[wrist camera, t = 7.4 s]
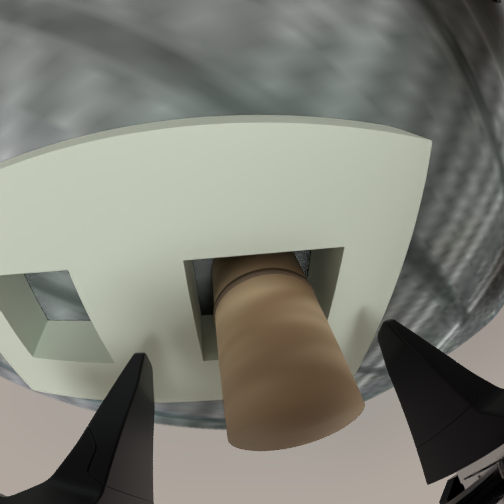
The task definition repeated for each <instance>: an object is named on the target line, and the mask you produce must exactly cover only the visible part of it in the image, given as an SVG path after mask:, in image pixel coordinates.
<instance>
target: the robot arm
mask: <svg viewBox="0 0 504 504" xmlns="http://www.w3.org/2000/svg"><path fill="white" fill-rule="evenodd" d="M493 1H494V2H496V3H501V0H493ZM378 341H379V345H380V348H381V351H382V354H383V357H384V361H385V364H386V367H387V370H388V373H389V376H390V378H391V381H392V383H393V385H394V388H395V390H396V393H397V395H398V398H399V401H400V403H401V406H402V409H403V411H404V414H405V417H406V419H407V422H408V425H409V428H410V431H411V434H412V436H413V440H414V443H415V446H416V448H417V452H418V455H419V458H420V462H421V465H422V468H423V472H424V475H425V478H426V482H427V484H428V485H429V484H431V483H434V482H436V481H438V480H440V479H443V478H445V477H447V476H449V475H451V474H453V473H455V472H457V474H456V475H455V476H453V477H452V478H450V479H449V480H448V481H447V483H446V486H445V489H444V491H443V494H442V496H441V499H440V502H439V503H440V504H504V389H501V388H499V387H497V386H495V385H493V384H491V383H490V382H488V381H486V380H484V379H482V378H481V377H479V376H477V375H476V374H474V373H472V372H471V371H469V370H468V369H466V368H465V367H463V366H462V365H460V364H459V363H457V362H456V361H455V360H453V359H452V358H450V357H449V356H447V355H446V354H444V353H443V352H442V351H440V350H439V349H437V348H436V347H434V346H433V345H431V344H430V343H428V342H427V341H425V340H424V339H422V338H421V337H420V336H418V335H417V334H415V333H414V332H412V331H411V330H409V329H408V328H406V327H405V326H403V325H402V324H400V323H399V322H397V321H396V320H394V319H390V320H386V321H384V322H383V324H382V326H381V328H380V331H379V333H378ZM88 426H89V427H87V428H86V429H85V431H84V433H83V434H82V436H81V437H80V439H79V441H78V442H77V444H76V445H75V447H74V448H73V449H72V451H71V452H70V453H69V455H68V456H67V457H66V459H65V460H64V461H63V462H62V464H61V465H60V466H59V468H58V469H57V470H56V472H55V473H54V474H53V475H52V476H51V477H50V478H49V479H48V480H46V481H45V482H43V483H41V484H39V485H37V486H34V487H32V488H30V489H28V490H25V491H22V492H20V493H17V494H15V495H12V496H8V497H7V496H5V495H3V494H0V504H154V502H153V431H154V388H153V368H152V365H151V363H150V361H149V358H148V356H147V354H146V353H144V352H141V353H134V354H133V356H132V357H131V359H130V360H129V362H128V363H127V365H126V366H125V368H124V369H123V371H122V372H121V374H120V375H119V377H118V378H117V380H116V382H115V383H114V385H113V386H112V388H111V389H110V391H109V392H108V394H107V396H106V397H105V399H104V400H103V402H102V404H101V405H100V407H99V408H98V410H97V412H96V413H95V415H94V417H93V418H92V420H91V421H90V423H89V425H88Z"/></svg>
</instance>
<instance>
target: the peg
mask: <svg viewBox="0 0 504 504" xmlns="http://www.w3.org/2000/svg"><path fill="white" fill-rule="evenodd" d="M212 281H213V296H214V310H213V313H214V323H215V326H216V335H217V346H218V357H219V367H220V377H221V386H222V395H223V404H224V413H225V421H226V428H227V436H228V441H229V443H230V444H231V445H232V446H234V447H237V448H239V449H244V450H252V451H270V450H280V449H286V448H292V447H296V446H300V445H304V444H307V443H311V442H313V441H316V440H319V439H322V438H324V437H326V436H329V435H331V434H333V433H335V432H337V431H339V430H340V429H342V428H344V427H345V426H347V425H348V424H350V423H351V422H352V421H354V420H355V419H356V418H357V417H358V416H359V415H360V414H361V413H362V411H363V410H364V407H365V403H364V401H363V398H362V396H361V394H360V391H359V389H358V387H357V385H356V382H355V380H354V378H353V376H352V373H351V371H350V369H349V367H348V364H347V362H346V360H345V358H344V356H343V353H342V351H341V349H340V347H339V345H338V343H337V340H336V338H335V336H334V334H333V332H332V330H331V328H330V326H329V323H328V321H327V319H326V317H325V315H324V313H323V311H322V309H321V307H320V305H319V303H318V301H317V297H316V294H315V292H314V289H313V287H312V285H311V284H310V283H309V281H308V280H307V278H306V276H305V274H304V272H303V270H302V268H301V266H300V264H299V262H298V260H297V258H296V256H295V255H294V253H293V251H289V252H277V253H266V254H254V255H242V256H230V257H219V258H214V259H213V263H212Z"/></svg>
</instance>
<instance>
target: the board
mask: <svg viewBox="0 0 504 504" xmlns="http://www.w3.org/2000/svg"><path fill="white" fill-rule="evenodd" d="M431 147H432V140H429V139H427V138H424V137H421V136H418V135H415V134H412V133H409V132H406V131H403V130H400V129H397V128H394V127H391V126H387V125H381V124H374V123H368V122H360V121H353V120H344V119H334V118H323V117H309V116H289V115H231V116H211V117H197V118H186V119H176V120H168V121H160V122H153V123H146V124H139V125H133V126H127V127H122V128H117V129H112V130H107V131H102V132H98V133H93V134H89V135H85V136H81V137H77V138H73V139H69V140H66V141H62V142H58V143H55V144H52V145H48V146H45V147H42V148H39V149H36V150H33V151H30V152H27V153H24V154H22V155H19V156H16V157H13V158H11V159H8V160H6V161H3V162H1V163H0V353H1V354H2V355H3V357H4V358H5V359H6V360H7V361H8V363H9V364H10V365H11V366H12V367H13V369H14V370H15V371H16V372H17V373H18V374H19V376H20V377H21V378H22V379H23V380H24V381H25V382H26V383H27V384H28V385H29V386H30V387H31V388H32V390H35V391H40V392H46V393H51V394H57V395H64V396H70V397H78V398H86V399H96V400H104V399H105V397H106V396H107V394H108V392H109V391H110V389H111V388H112V386H113V385H114V383H115V382H116V380H117V378H118V377H119V375H120V374H121V372H122V371H123V369H124V368H125V366H126V365H127V363H128V362H129V360H130V359H131V357H132V356H133V354H134V353H141V352H144V353H146V354H147V356H148V358H149V361H150V363H151V365H152V368H153V388H154V402H196V401H212V400H223V395H222V386H221V377H220V367H219V357H218V346H217V335H216V326H215V323H214V315H204V316H201V310H200V304H199V298H198V292H197V286H196V279H195V273H194V266H193V260H195V259H207V258H219V257H230V256H242V255H254V254H266V253H277V252H289V251H301V250H311V257H310V264H309V271H308V278H307V280H308V281H309V283H310V284H311V285H312V287H313V289H314V292H315V294H316V297H317V301H318V303H319V305H320V307H321V309H322V311H323V313H324V315H325V317H326V319H327V321H328V323H329V326H330V328H331V330H332V332H333V334H334V336H335V338H336V340H337V343H338V345H339V347H340V349H341V351H342V353H343V356H344V358H345V360H346V362H347V364H348V367H349V369H350V371H351V373H352V376H355V374H356V373H357V371H358V369H359V367H360V365H361V363H362V361H363V359H364V357H365V355H366V353H367V351H368V349H369V347H370V345H371V342H372V340H373V338H374V336H375V334H376V332H377V329H378V327H379V325H380V323H381V320H382V318H383V316H384V313H385V311H386V308H387V306H388V303H389V301H390V298H391V296H392V293H393V291H394V288H395V285H396V283H397V280H398V277H399V274H400V271H401V268H402V265H403V263H404V259H405V256H406V253H407V250H408V247H409V244H410V240H411V237H412V234H413V230H414V226H415V223H416V219H417V215H418V211H419V207H420V203H421V199H422V195H423V190H424V185H425V181H426V176H427V170H428V165H429V159H430V153H431ZM60 270H68V271H69V273H70V276H71V278H72V281H73V283H74V285H75V287H76V290H77V292H78V294H79V296H80V299H81V301H82V303H83V305H84V307H85V309H86V311H87V313H88V315H89V317H90V319H91V321H52V320H48V319H47V317H46V316H45V314H44V312H43V310H42V309H41V307H40V305H39V303H38V301H37V299H36V298H35V296H34V294H33V292H32V290H31V288H30V286H29V284H28V282H27V280H26V277H25V275H24V273H35V272H48V271H60Z"/></svg>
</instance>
